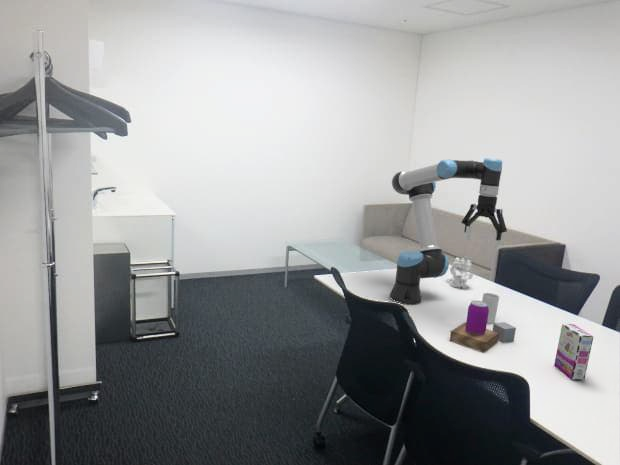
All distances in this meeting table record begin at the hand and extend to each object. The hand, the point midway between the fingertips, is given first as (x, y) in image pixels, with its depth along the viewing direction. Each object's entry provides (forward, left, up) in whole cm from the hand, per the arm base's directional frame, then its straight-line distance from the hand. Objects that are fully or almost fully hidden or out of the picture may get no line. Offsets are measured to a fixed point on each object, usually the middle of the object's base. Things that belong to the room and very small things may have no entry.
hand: (480, 244), depth 212 cm
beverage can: (+15, -20, -31) cm, 40 cm away
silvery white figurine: (-34, +41, -35) cm, 63 cm away
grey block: (+20, -7, -35) cm, 41 cm away
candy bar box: (+49, -13, -35) cm, 62 cm away
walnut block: (+15, -20, -35) cm, 43 cm away
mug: (+4, +7, -35) cm, 36 cm away
